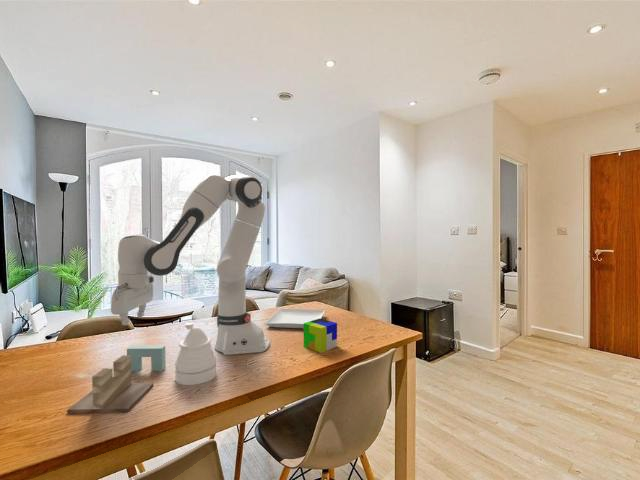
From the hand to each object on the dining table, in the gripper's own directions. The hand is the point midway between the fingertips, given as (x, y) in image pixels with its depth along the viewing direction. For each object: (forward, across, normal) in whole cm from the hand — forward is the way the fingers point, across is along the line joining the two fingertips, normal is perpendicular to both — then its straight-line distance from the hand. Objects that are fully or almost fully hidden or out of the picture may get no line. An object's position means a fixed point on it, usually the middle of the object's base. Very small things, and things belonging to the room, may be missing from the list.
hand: (133, 320), depth 111 cm
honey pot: (+18, -5, -23) cm, 30 cm away
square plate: (+18, +55, -55) cm, 80 cm away
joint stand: (+18, -19, -4) cm, 26 cm away
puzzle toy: (+17, +20, -66) cm, 71 cm away
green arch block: (+18, 0, -4) cm, 18 cm away
